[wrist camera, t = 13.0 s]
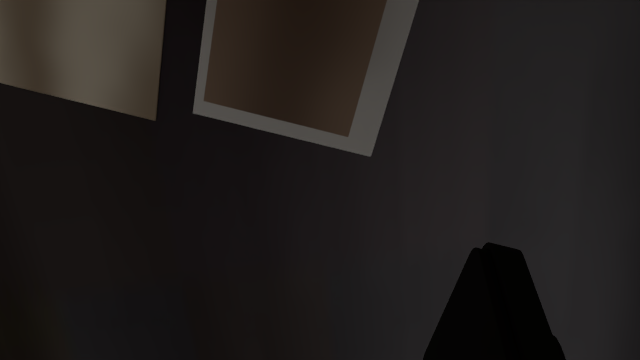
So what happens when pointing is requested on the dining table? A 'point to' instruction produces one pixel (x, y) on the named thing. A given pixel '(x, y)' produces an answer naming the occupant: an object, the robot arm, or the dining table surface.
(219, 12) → the walnut block
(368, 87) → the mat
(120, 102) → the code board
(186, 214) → the dining table surface
